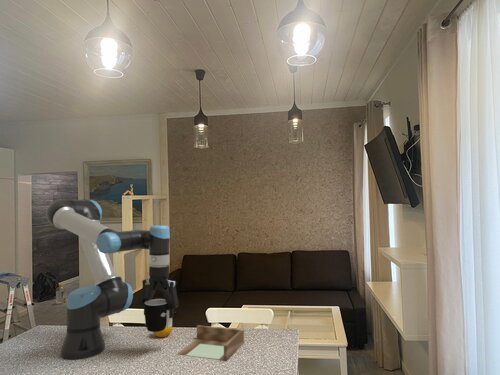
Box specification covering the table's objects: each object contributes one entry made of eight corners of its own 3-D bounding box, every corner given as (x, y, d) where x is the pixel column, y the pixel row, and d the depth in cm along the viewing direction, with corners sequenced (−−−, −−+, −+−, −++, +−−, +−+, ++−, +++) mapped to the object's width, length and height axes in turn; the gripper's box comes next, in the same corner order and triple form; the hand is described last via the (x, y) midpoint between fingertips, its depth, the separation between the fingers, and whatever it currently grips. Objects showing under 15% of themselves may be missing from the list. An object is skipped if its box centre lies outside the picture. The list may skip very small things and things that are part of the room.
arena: (176, 357, 125) (175, 340, 125) (198, 340, 141) (198, 325, 141) (227, 363, 118) (226, 345, 119) (244, 345, 134) (244, 329, 135)
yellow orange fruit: (168, 331, 153) (168, 313, 154) (175, 336, 147) (174, 318, 147) (150, 335, 149) (150, 317, 149) (156, 340, 142) (156, 321, 143)
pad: (185, 355, 124) (185, 354, 124) (200, 344, 134) (200, 343, 134) (219, 359, 119) (219, 359, 120) (231, 347, 130) (231, 347, 130)
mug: (161, 334, 126) (161, 305, 126) (139, 332, 128) (139, 304, 129) (176, 323, 138) (176, 297, 138) (155, 321, 140) (155, 296, 140)
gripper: (129, 265, 134) (128, 325, 133) (178, 268, 127) (178, 331, 126) (142, 262, 141) (141, 319, 140) (188, 265, 134) (188, 325, 133)
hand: (158, 325), depth 133 cm, fingers closed on mug, 9 cm apart
